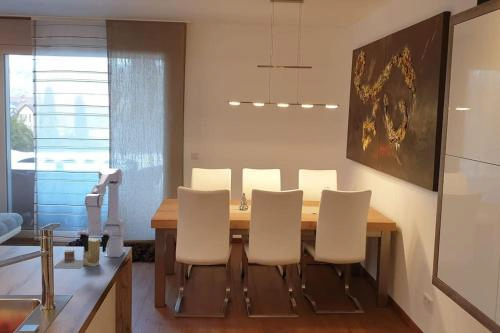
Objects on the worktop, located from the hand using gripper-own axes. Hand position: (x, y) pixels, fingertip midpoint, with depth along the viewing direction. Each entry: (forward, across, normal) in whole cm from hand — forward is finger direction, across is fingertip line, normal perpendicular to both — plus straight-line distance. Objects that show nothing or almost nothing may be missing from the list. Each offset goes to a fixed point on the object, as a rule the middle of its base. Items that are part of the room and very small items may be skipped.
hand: (95, 251), depth 210 cm
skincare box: (+10, -6, +11) cm, 16 cm away
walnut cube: (+10, -19, +18) cm, 28 cm away
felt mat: (+10, -16, +11) cm, 22 cm away
